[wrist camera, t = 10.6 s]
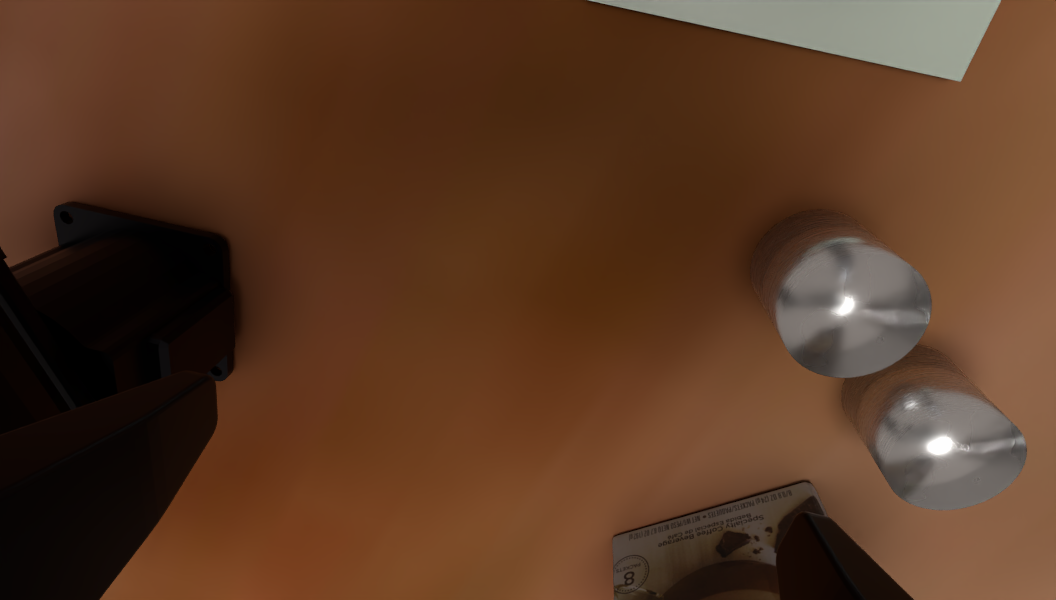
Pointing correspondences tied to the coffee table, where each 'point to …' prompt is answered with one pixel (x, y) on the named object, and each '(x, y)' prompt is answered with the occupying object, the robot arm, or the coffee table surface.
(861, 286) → the cylinder
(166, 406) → the robot arm
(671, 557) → the coffee box
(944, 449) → the cylinder
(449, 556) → the coffee table surface
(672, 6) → the pad
